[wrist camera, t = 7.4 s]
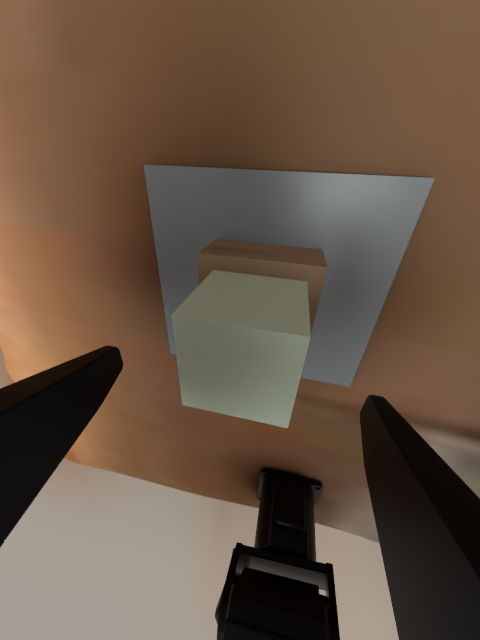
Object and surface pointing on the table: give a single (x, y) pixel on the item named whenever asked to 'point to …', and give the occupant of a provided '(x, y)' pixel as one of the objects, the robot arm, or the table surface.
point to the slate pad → (292, 241)
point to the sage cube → (243, 345)
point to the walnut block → (267, 264)
